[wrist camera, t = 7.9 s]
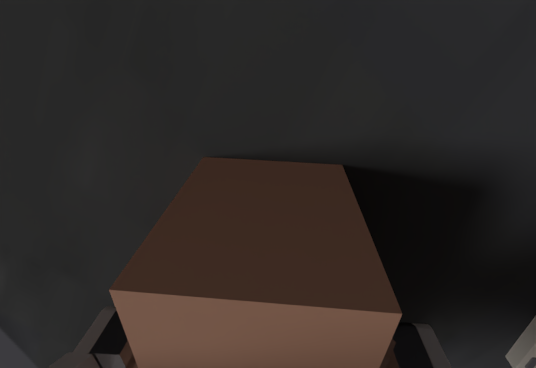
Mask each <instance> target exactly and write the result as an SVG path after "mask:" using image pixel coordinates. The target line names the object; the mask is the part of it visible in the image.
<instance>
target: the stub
mask: <svg viewBox="0 0 536 368" xmlns="http://www.w3.org/2000/svg"><path fill="white" fill-rule="evenodd" d="M109 291H110V294H111V297H112V299H113V302H114V305H115V307H116V310H117V313H118V315H119V318H120V321H121V323H122V326H123V329H124V331H125V334H126V337H127V339H128V342H129V345H130V347H131V350H132V353H133V355H134V358H135V361H136V363H137V366H138V368H380V365H381V363H382V361H383V358H384V356H385V354H386V351H387V349H388V347H389V344H390V342H391V340H392V337H393V335H394V333H395V330H396V328H397V326H398V323H399V321H400V319H401V316H402V312H401V309H400V307H399V304H398V302H397V299H396V297H395V294H394V292H393V289H392V287H391V284H390V282H389V279H388V277H387V275H386V272H385V270H384V267H383V265H382V262H381V260H380V257H379V255H378V252H377V250H376V247H375V245H374V242H373V240H372V237H371V235H370V232H369V230H368V227H367V225H366V223H365V220H364V218H363V215H362V213H361V210H360V208H359V205H358V203H357V200H356V198H355V195H354V193H353V190H352V188H351V185H350V183H349V180H348V178H347V175H346V173H345V171H344V168H343V166H342V165H335V164H318V163H300V162H283V161H266V160H248V159H231V158H213V157H203V158H202V160H201V161H200V163H199V164H198V165H197V167H196V168H195V170H194V171H193V172H192V174H191V175H190V177H189V178H188V179H187V181H186V182H185V184H184V185H183V186H182V188H181V189H180V191H179V192H178V194H177V195H176V196H175V198H174V199H173V201H172V202H171V203H170V205H169V206H168V208H167V209H166V210H165V212H164V213H163V215H162V216H161V217H160V219H159V220H158V222H157V223H156V224H155V226H154V227H153V229H152V230H151V231H150V233H149V234H148V236H147V237H146V239H145V240H144V241H143V243H142V244H141V246H140V247H139V248H138V250H137V251H136V253H135V254H134V255H133V257H132V258H131V260H130V261H129V262H128V264H127V265H126V267H125V268H124V269H123V271H122V272H121V274H120V275H119V276H118V278H117V279H116V281H115V282H114V284H113V285H112V286H111V288H110V289H109Z"/></svg>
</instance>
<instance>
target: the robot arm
mask: <svg viewBox="0 0 536 368" xmlns="http://www.w3.org/2000/svg"><path fill="white" fill-rule="evenodd" d="M48 368H138V366H137V363H136V361H135V358H134V355H133V353H132V350H131V347H130V345H129V342H128V339H127V337H126V334H125V331H124V329H123V326H122V323H121V321H120V318H119V315H118V313H117V310H116V307H110V306H107V307H105V308H104V309H103V310H102V311H101V312H100V313H99V315H98V316H97V318H96V319H95V321H94V322H93V324H92V325H91V327H90V328H89V329H88V331H87V332H86V334H85V335H84V337H83V338H82V340H81V341H80V342H79V344H78V345H77V347H76V348H75V350H74V351H73V353H67V354H66V355H64V356H63V357H61V358H60V359H59V360H57V361H56V362H55V363H53V364H52V365H50V366H49V367H48ZM380 368H452V367H451V365H450V363H449V361H448V359H447V357H446V355H445V353H444V351H443V349H442V347H441V345H440V343H439V341H438V339H437V337H436V335H435V333H434V331H433V329H432V327H431V326H430V325H429V324H420V323H406V322H399V323H398V326H397V328H396V330H395V333H394V335H393V337H392V340H391V342H390V344H389V347H388V349H387V351H386V354H385V356H384V358H383V361H382V363H381V365H380Z"/></svg>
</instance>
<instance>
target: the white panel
mask: <svg viewBox="0 0 536 368" xmlns="http://www.w3.org/2000/svg"><path fill="white" fill-rule="evenodd" d="M505 357H506V359H507V360H508V362H509V363H510V365H511V366H512V368H536V316H535V317H534V318H533V320H532V321H531V322H530V324H529V325H528V326H527V328H526V329H525V330H524V332H523V333H522V334H521V336H520V337H519V338H518V340H517V341H516V342H515V344H514V345H513V346H512V348H511V349H510V350H509V352H508V353H507V354H506V356H505Z"/></svg>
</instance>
